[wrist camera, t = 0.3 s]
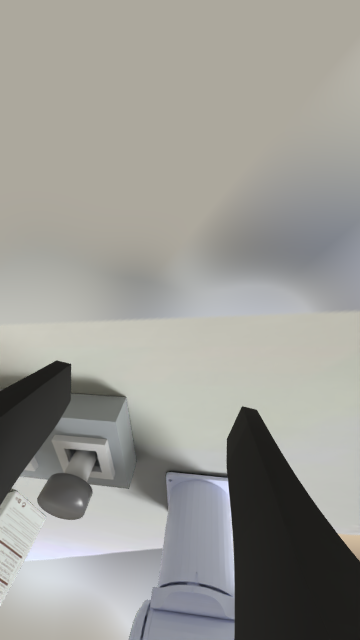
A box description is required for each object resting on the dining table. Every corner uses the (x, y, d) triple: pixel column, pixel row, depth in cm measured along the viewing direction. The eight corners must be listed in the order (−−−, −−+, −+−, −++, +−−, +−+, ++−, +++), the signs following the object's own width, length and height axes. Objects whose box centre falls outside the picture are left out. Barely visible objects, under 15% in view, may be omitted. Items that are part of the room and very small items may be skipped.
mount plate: (136, 461, 28) (127, 494, 25) (12, 449, 30) (-12, 478, 27) (126, 397, 24) (113, 427, 20) (-19, 387, 25) (-52, 413, 22)
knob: (110, 465, 25) (88, 522, 20) (73, 461, 25) (44, 516, 21) (103, 439, 23) (78, 495, 18) (64, 435, 23) (31, 489, 19)
